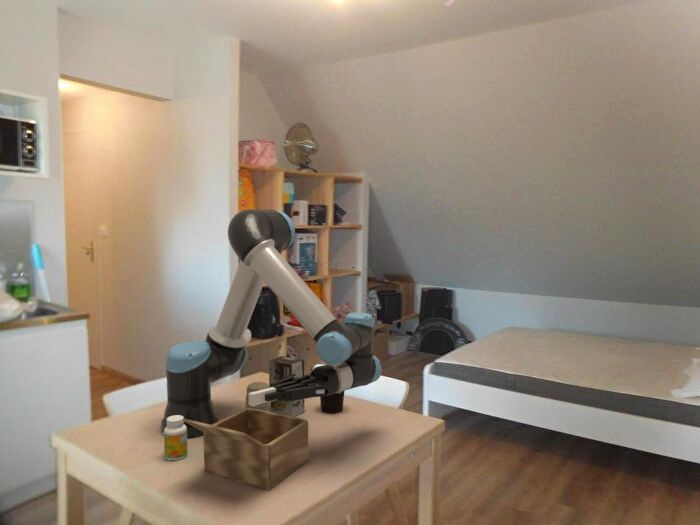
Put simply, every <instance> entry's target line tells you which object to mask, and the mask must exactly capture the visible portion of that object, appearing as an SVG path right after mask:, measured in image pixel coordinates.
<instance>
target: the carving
mask: <svg viewBox="0 0 700 525" xmlns="http://www.w3.org/2000/svg"><path fill="white" fill-rule="evenodd" d="M267 388H269V383H266V382H263V381H262V382H261V381H255V382H252V383H250V384H248V385H247V387H246V396H245V406H244V409H247V408H253V409H258V410H263V411H268V412H270V410H271V402H267V403H263V404H260V405H256V406H250V405H249V393H251V392H255V391H259V390H263V389H267Z"/></svg>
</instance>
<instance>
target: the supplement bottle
mask: <svg viewBox="0 0 700 525" xmlns="http://www.w3.org/2000/svg"><path fill="white" fill-rule="evenodd" d="M183 418H184V417H183V416H181V415H174V416H170V417H168V418H167V425H168V426H167V427H166V428H165V429H164V434H163V438H164V439H163V441H164V444H163V448H164V449H163V450H164V451H163V452H164V459H165V458H166V459H165V460H167V459H168V460H167V461H171V460H175V461H180V459H181V460H182V459H185V458H187V455H188V438H187V427H186V425H184V424H183V423H184V421H182V420H183Z"/></svg>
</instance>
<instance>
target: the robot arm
mask: <svg viewBox="0 0 700 525" xmlns="http://www.w3.org/2000/svg"><path fill="white" fill-rule="evenodd" d="M295 234H296V228H295V225H294V223H293V221H292V219H291V218H290V217H289V215H287V214H286V213H285V212H284V211H280V210H276V209H254V208H251V209H250V208H249V209H248V208H247V209H244V210H241V211H239V212H237V214H234V216H233V217H232V218H231V220H230V222H229V224H228V228H227V237H228V241H229V244H230V246H231V248H232V250H233V251H234V253H235V255H236V256H237V257H238V258H239V260H240V261H239V263H238V267H237V269H236V272H235V275H234V278H233V279H232V283H231V286H230V287H229V290H228V294H227V295H226V298H225V301H224V304H223V306H222V310H221V312H220V314H219V318H218V320H217V323H216V325H215V326H213V327H211V328H209V330H208V332H207V335H206V338H205V339H204V340H189V341H187V342H186V341H183V342H180V343H177V344H175V345H173V346H172V347H171V348H169V350H168V351H167V353H166V362H165V368H166V393H167V395H166V396H167V398H166V399H167V403H166V407H165V410H164V414H163V418H162V420H161V425H160V426H161V427H160V428H161V433H162V432H163V433H164V429H165V428H166V427H167V426H168V425H167V418H168V417H170V416H174V415H181V416H183V417H184V419H188V420H193V421H197V422H201V423H205V424H209V425H212V424H214V423H216V422H218V421H219V420H218V414H217V413H216V411H215V410H216V409H215V407H214V404H213V401H212V393H211V392H212V384H214V383H215V382H218V381H220V380H222V379H224V378H227V377H230V376H232V375H234V374H235V373H237V372H238V371H240V370H241V369H242V368H243V367H244V366H245V363H246V361H247V358H248V350H247V349H246V348H247V339H246V337H245V334H246V330H247V328H248V326H249V323H250V320H251V319H252V315H253V312H254V310H255V308H256V304H257V303H258V299H259V297H260V294H261V292H262V289H263V286H264V285H265V284H266V285H267V286H268V288H269V289H270V290H271V291H272V292H273V293H274V294H275V295H276V297H277V298H278V299H279V301H280V302H281V303H282V304H283V305H284V306H285V307H286V308H287V309H288V311H289V312H290V314H292V315H293V316H294V318H295V319H296V321H298V322H299V323H300V325H301V326H302V328H304V330H305V331H306V332H307V333H308V334H309V336H310V337H311V338H312V339H313V340H314V341H315V343H316V350H315V351H316V353H317V356H318V357H319V359H320V360H321V361H322V362H323V363H324V365H319V366H316V367H314V368H313V369H312V371H311V373H310V374H304V375H303V376H302V377H299V378H296V375H295V374H292V375H290V376H289V377H287V378H284V379H281V380H279V381H276V382H273V383H270V384H269V383H268V385H269V388H267V389H263V390H259V391H255V392H251V393H249V405H250V406H256V405H260V404H263V403H267V402H271V401H274V400H276V399H278V400H284V401H285V402H289V401H294V400H300V399H304V400H305V399H311V398H320V397H325V396H328V395H332V394H334V393H341V391H345V392H346V391H348V390H351V389H355V388H359V387H364V386H368V385H370V384H372V383H375V382H377V381H378V380H379V379H380V377H381V375H382V370H383V368H382V365H381V361H380V359H378V357H377V356H376V355H374V354H373V351H374V318H373V316H372V314H370V313H367V312H349V313H347V314H345V317H344V322H343V324H344V326H343V325H342V323H340V322H339V320H338V319H337V318H336V317H335V316H334V315H333V313H332V312H331V311H330V310H329V309H328V307H327V306H326V305H325V304H324V303H323V301H321V300H320V298H319V297H318V296H317V295H316V293H314V292H313V290H312V289H311V288H310V286H308V285H307V283H306V282H305V281H304V280H303V279H302V278H301V277H300V275H299V274H298V273H297V272H296V270H295V269H294V268H293V267H292V266H291V265H290V263H288V261H287V260H286V259H285V258H284V257H283V255H282V252H283V251H285V250H287V249H288V248H289V247H290V246H291V245H292V244H293V242H294V240H295ZM183 424H184V425H186V427H187V439H189V438H195V437H199V436H200V437H202V436H203V431H201V430H199V429H197V428H195V427H193V426H191V425H190V424H188V423H186V422H184V423H183ZM163 433H162V434H163Z"/></svg>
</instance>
